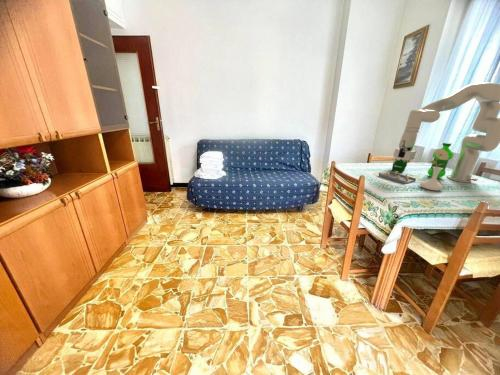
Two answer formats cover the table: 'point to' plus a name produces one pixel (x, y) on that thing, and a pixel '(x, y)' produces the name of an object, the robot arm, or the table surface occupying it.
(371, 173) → the table surface
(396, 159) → the milk carton
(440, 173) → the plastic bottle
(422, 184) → the flower in vase
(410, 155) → the block
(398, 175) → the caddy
